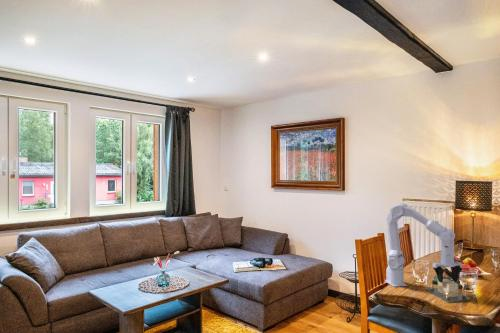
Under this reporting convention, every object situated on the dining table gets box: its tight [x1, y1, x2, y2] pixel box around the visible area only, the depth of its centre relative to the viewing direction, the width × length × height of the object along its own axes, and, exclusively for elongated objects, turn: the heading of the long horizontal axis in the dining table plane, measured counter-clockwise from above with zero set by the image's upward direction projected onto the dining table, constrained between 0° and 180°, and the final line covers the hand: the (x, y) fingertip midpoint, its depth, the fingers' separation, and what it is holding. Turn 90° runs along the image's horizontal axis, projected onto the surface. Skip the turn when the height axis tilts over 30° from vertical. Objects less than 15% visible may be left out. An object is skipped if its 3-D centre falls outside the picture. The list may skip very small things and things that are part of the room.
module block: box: [437, 279, 459, 297], centre depth 170 cm, size 8×5×6 cm, turn 7°
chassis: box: [425, 284, 472, 303], centre depth 170 cm, size 16×12×4 cm
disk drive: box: [431, 275, 462, 290], centre depth 186 cm, size 10×3×15 cm
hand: (447, 281), depth 170 cm, fingers open, 7 cm apart
